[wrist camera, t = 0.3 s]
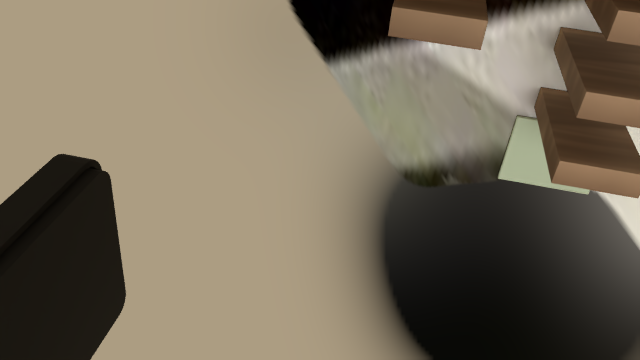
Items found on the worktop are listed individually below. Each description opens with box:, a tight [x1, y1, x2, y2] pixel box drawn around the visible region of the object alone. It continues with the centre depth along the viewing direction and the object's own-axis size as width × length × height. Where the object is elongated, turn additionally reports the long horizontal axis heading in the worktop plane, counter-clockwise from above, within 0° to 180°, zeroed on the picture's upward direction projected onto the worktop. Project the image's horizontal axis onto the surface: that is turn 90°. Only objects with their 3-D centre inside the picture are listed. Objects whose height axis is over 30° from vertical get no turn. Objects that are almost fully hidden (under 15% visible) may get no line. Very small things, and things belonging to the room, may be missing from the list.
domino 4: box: [534, 87, 640, 198], centre depth 38 cm, size 2×5×10 cm, turn 85°
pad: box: [498, 115, 590, 194], centre depth 45 cm, size 6×7×1 cm
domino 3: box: [554, 27, 640, 128], centre depth 36 cm, size 2×5×10 cm, turn 85°
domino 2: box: [585, 0, 640, 46], centre depth 33 cm, size 2×5×10 cm, turn 85°
